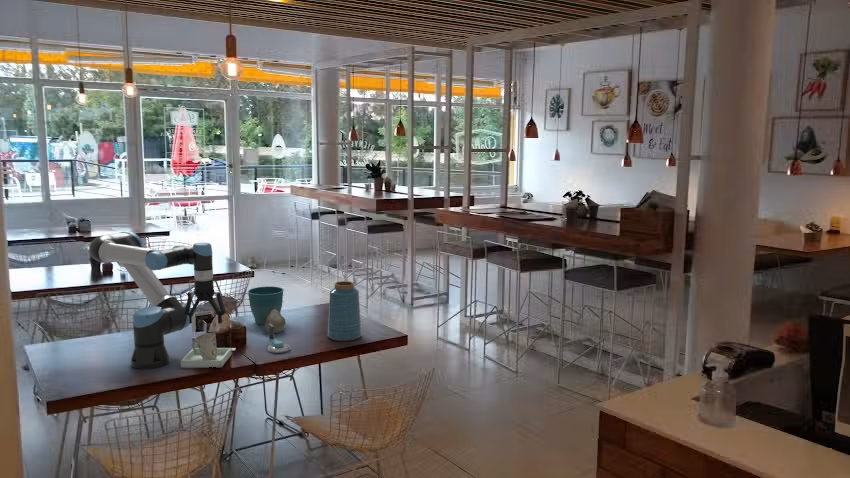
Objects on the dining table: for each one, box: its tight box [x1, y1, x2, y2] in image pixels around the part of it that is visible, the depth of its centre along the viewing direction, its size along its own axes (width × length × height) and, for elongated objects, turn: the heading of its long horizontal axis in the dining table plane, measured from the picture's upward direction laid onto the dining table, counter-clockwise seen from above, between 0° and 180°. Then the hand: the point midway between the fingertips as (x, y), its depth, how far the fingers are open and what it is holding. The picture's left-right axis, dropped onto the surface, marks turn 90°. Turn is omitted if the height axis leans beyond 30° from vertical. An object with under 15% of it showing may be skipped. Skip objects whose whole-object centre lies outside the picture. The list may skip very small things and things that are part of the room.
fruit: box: [264, 307, 286, 334], centre depth 328 cm, size 10×9×12 cm
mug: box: [191, 332, 218, 360], centre depth 286 cm, size 8×13×10 cm, turn 72°
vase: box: [327, 280, 362, 342], centre depth 320 cm, size 16×16×27 cm
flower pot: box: [247, 285, 284, 326], centre depth 345 cm, size 18×18×17 cm
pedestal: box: [267, 343, 291, 354], centre depth 302 cm, size 10×10×2 cm
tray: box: [180, 347, 233, 369], centre depth 286 cm, size 17×17×3 cm
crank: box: [268, 324, 285, 348], centre depth 305 cm, size 15×4×8 cm, turn 32°
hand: (206, 330), depth 284 cm, fingers open, 9 cm apart
